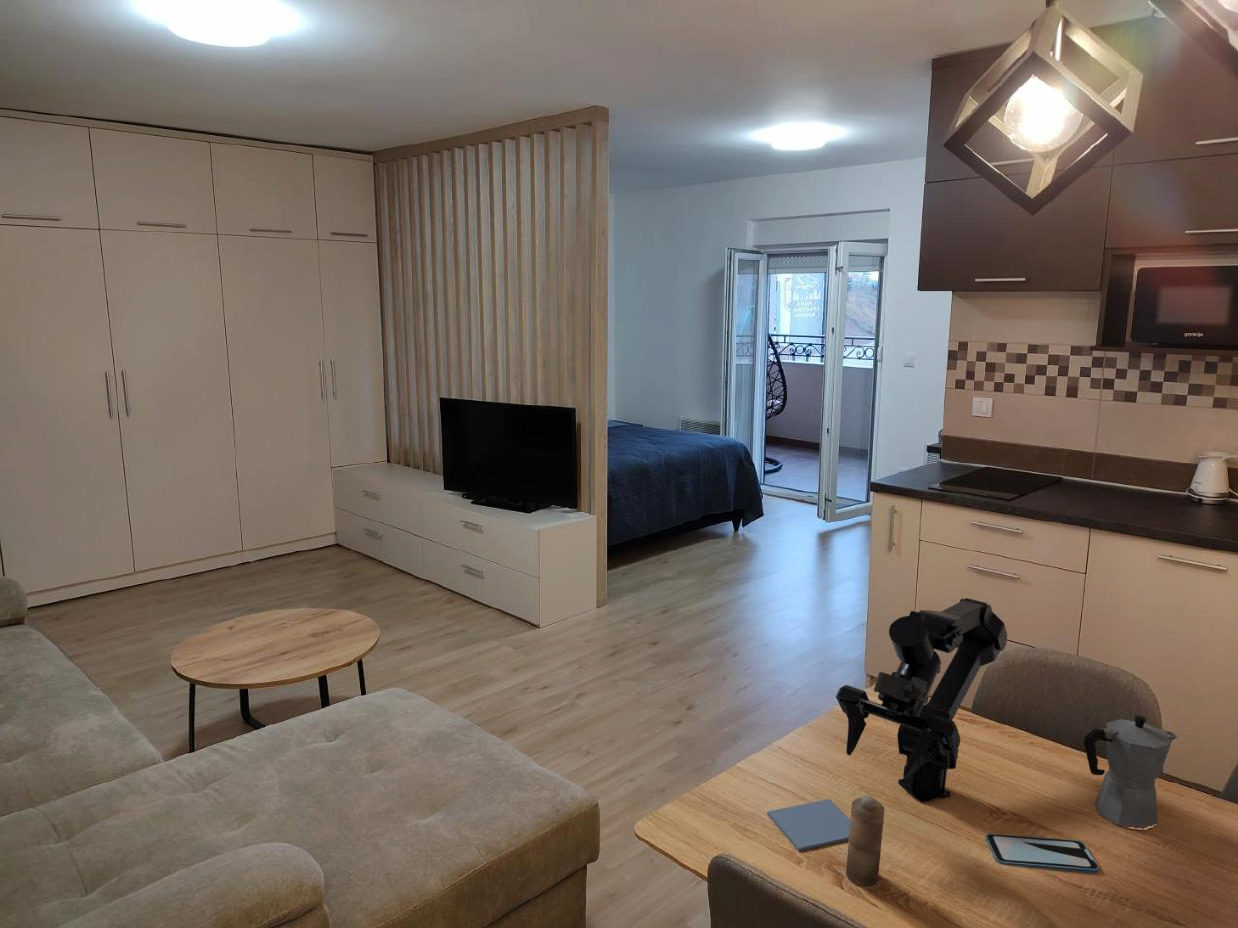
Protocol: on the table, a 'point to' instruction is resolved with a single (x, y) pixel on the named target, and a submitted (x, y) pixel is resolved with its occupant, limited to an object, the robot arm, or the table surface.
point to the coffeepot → (1129, 770)
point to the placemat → (812, 824)
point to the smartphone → (1042, 853)
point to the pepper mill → (865, 841)
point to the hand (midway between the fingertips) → (875, 765)
